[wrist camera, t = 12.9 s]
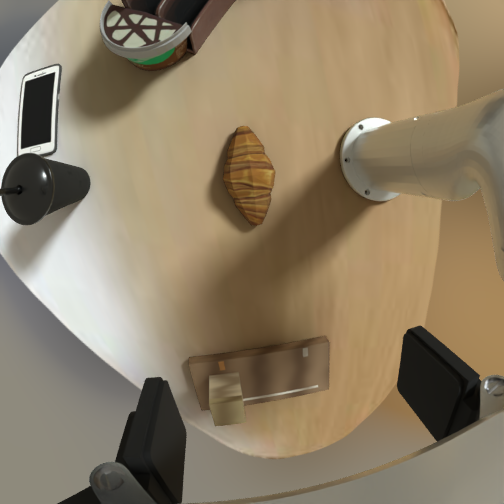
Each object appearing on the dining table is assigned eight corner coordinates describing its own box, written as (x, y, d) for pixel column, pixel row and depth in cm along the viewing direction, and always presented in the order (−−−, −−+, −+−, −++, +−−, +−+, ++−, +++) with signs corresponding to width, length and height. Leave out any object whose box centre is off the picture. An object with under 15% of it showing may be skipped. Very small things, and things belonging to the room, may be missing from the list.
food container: (103, 63, 34) (77, 38, 25) (125, 30, 33) (105, -1, 24) (173, 90, 37) (161, 66, 27) (195, 55, 36) (190, 23, 26)
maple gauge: (238, 372, 45) (242, 400, 39) (242, 393, 47) (246, 422, 40) (209, 375, 45) (209, 404, 38) (214, 397, 46) (215, 426, 39)
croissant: (215, 131, 39) (215, 124, 34) (265, 124, 40) (271, 117, 35) (230, 228, 42) (232, 234, 38) (278, 220, 43) (286, 226, 38)
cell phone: (20, 161, 36) (17, 161, 35) (25, 76, 33) (22, 74, 32) (58, 153, 37) (55, 152, 36) (63, 63, 33) (60, 61, 33)
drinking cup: (81, 220, 39) (-1, 253, 20) (47, 191, 38) (-44, 206, 18) (109, 176, 39) (31, 179, 19) (72, 147, 37) (-15, 135, 17)
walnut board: (325, 335, 48) (329, 342, 46) (325, 382, 50) (329, 389, 48) (189, 357, 46) (188, 364, 44) (201, 403, 49) (201, 410, 47)
